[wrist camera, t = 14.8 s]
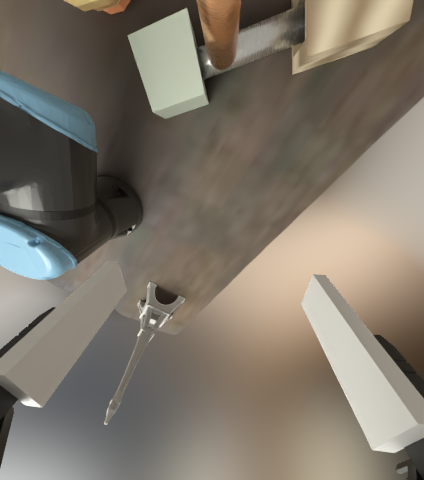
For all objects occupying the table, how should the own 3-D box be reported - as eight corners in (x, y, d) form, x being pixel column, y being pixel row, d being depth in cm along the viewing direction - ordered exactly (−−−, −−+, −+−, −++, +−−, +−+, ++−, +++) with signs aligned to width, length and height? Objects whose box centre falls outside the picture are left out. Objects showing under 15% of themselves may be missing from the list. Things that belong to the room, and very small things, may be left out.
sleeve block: (292, 74, 28) (307, 56, 23) (290, -3, 24) (308, -46, 19) (372, 47, 26) (409, 20, 21) (384, -43, 22) (434, -104, 17)
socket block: (165, 119, 33) (152, 112, 27) (146, 58, 29) (127, 35, 23) (208, 104, 31) (204, 93, 26) (195, 37, 27) (186, 7, 22)
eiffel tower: (137, 303, 60) (67, 422, 34) (150, 281, 54) (76, 403, 28) (170, 318, 62) (128, 440, 36) (185, 298, 56) (148, 425, 30)
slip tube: (177, 96, 30) (121, 34, 14) (168, 64, 28) (93, -48, 12) (306, 49, 26) (427, -110, 10) (306, 7, 24) (456, -267, 8)
